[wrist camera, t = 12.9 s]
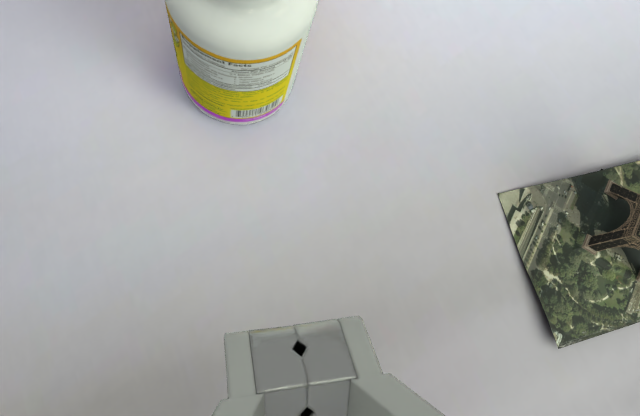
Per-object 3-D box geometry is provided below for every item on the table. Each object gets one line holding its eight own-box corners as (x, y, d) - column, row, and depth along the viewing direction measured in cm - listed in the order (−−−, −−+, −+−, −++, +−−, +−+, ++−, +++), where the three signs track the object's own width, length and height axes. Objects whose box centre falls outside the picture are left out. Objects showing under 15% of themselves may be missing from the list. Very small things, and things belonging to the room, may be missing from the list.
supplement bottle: (215, 5, 31) (209, -195, 19) (310, 59, 31) (367, -101, 19) (158, 94, 29) (110, -61, 17) (260, 149, 30) (286, 37, 17)
